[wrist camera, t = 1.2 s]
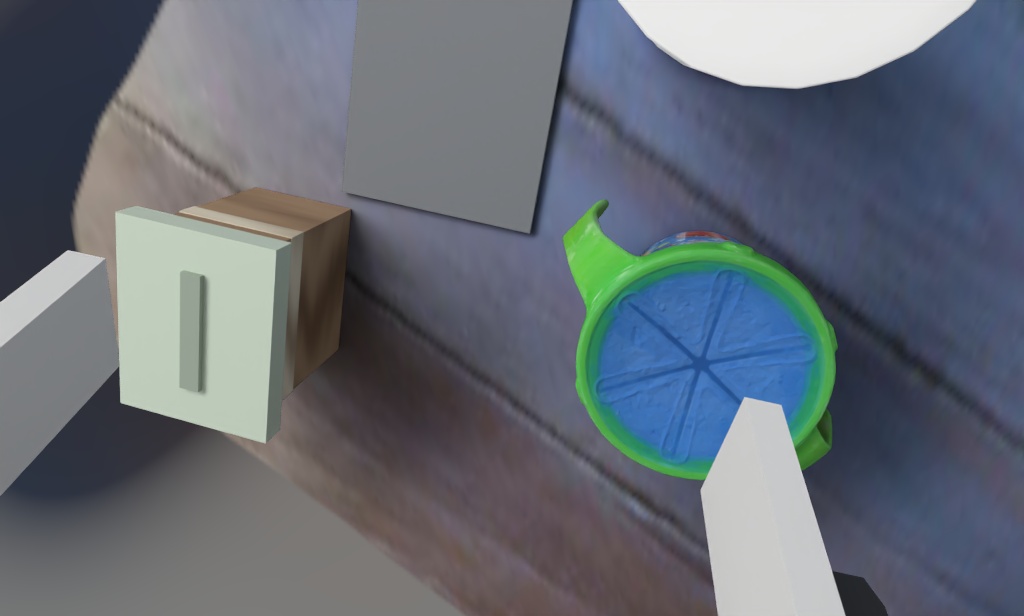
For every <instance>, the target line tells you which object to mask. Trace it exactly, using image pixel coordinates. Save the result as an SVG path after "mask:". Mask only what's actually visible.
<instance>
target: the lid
mask: <svg viewBox="0 0 1024 616" xmlns="http://www.w3.org/2000/svg"><path fill="white" fill-rule="evenodd" d="M115 216H116V253H117V290H118V327H119V363H120V398H121V400H120V401H121V403H123V404H126V405H130V406H134V407H137V408H141V409H144V410H148V411H152V412H155V413H159V414H162V415H166V416H170V417H173V418H177V419H180V420H184V421H187V422H191V423H194V424H198V425H202V426H205V427H209V428H212V429H216V430H219V431H223V432H227V433H230V434H234V435H237V436H241V437H244V438H248V439H252V440H255V441H259V442H262V443H267V442H268V441H269V440H270V439H271V438H272V437H273V436H274V435H275V434H276V433H277V432H278V431H279V430H280V422H281V406H282V390H283V374H284V358H285V342H286V326H287V311H288V295H289V279H290V263H291V247H292V243H291V242H287V241H282V240H278V239H274V238H270V237H265V236H261V235H257V234H253V233H249V232H244V231H240V230H236V229H232V228H227V227H223V226H219V225H215V224H211V223H206V222H202V221H198V220H194V219H189V218H185V217H181V216H177V215H173V214H168V213H164V212H160V211H156V210H151V209H147V208H143V207H139V206H134V207H131V208H127V209H124V210H120V211H117V212H115Z"/></svg>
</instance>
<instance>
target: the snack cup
mask: <svg viewBox="0 0 1024 616" xmlns="http://www.w3.org/2000/svg"><path fill="white" fill-rule="evenodd" d="M608 205H609V203H608V201H607V200H601V201H598V202H597V203H596V204H595V205H593V206H592V207H591V208H590V209H589V210H588V211H587V212H586V214H585V215H584V216H583V217H582V218H580V219H579V220H578V221H577V223H576V224H575V225H574V226H573V227H572V228H571V229H570V230H569V231H568V232H567V233H566V234H565V235H564V236H563V242H564V247H565V250H566V255H567V260H568V263H569V267H570V269H571V272H572V275H573V277H574V280H575V282H576V285H577V287H578V289H579V291H580V293H581V296H582V298H583V300H584V303H585V306H586V318H585V321H584V323H583V326H582V330H581V333H580V338H579V342H578V347H577V353H576V372H577V379H576V385H575V386H576V388H577V391H578V395H579V398H580V400H581V403H582V404H584V405H585V406H586V409H587V411H588V413H589V415H590V417H591V419H592V420H593V422H594V423H595V425H596V426H597V428H598V429H599V430H600V432H601V433H602V434H603V435H604V436H605V438H606V439H607V440H608V441H609V442H610V443H611V444H612V445H613V446H615V447H616V448H617V449H618V450H620V451H621V452H622V453H623V454H625V455H626V456H628V457H629V458H631V459H632V460H634V461H636V462H638V463H640V464H641V465H643V466H645V467H648V468H650V469H652V470H655V471H657V472H660V473H663V474H665V475H668V476H674V477H679V478H685V479H693V480H706V478H707V475H708V473H709V471H710V469H711V467H712V465H713V463H714V461H715V458H716V456H717V454H718V452H719V450H720V448H721V446H722V444H723V441H724V439H725V437H726V435H727V433H728V431H729V429H730V427H731V424H732V422H733V420H734V418H735V416H736V414H737V412H738V410H739V407H740V405H741V403H742V401H743V399H744V397H747V398H752V399H756V400H761V401H765V402H770V403H775V404H779V405H782V409H783V412H784V415H785V419H786V422H787V425H788V428H789V432H790V435H791V438H792V442H793V445H794V448H795V451H796V455H797V458H798V461H799V465H800V468H801V471H803V470H804V469H806V468H807V467H809V466H811V465H812V464H813V463H815V462H816V461H817V460H819V459H820V458H822V457H823V456H824V455H825V454H826V453H827V452H828V451H829V450H830V449H831V447H832V421H831V415H830V413H829V411H828V410H827V405H828V403H829V400H830V397H831V395H832V391H833V387H834V384H835V375H836V363H835V352H836V350H837V349H838V345H837V340H836V336H835V332H834V329H833V327H832V325H831V324H830V323H829V322H828V321H827V320H826V319H825V317H824V315H823V313H822V311H821V309H820V307H819V306H818V304H817V302H816V301H815V299H814V297H813V296H812V294H811V293H810V292H809V290H808V289H807V288H806V287H805V286H804V285H803V283H802V282H801V281H800V280H799V279H798V278H796V277H795V276H794V275H793V274H792V273H791V272H789V271H788V270H787V269H786V268H784V267H783V266H782V265H780V264H779V263H777V262H776V261H774V260H772V259H770V258H768V257H766V256H763V255H761V254H759V253H757V252H755V251H754V250H753V248H751V247H748V246H745V245H743V244H741V243H739V242H738V241H737V240H736V239H734V238H731V237H728V236H726V235H724V234H719V233H714V232H708V231H688V232H682V233H678V234H675V235H672V236H669V237H667V238H665V239H663V240H661V241H659V242H657V243H655V244H654V245H652V246H651V247H649V248H648V249H647V250H646V251H645V252H644V253H643V254H641V255H640V256H635V255H632V254H630V253H629V252H627V251H626V250H624V249H622V248H621V247H619V246H618V245H617V244H615V243H614V242H613V241H612V240H610V239H609V238H608V237H607V236H606V235H604V234H603V232H602V230H601V226H600V224H599V222H598V218H599V217H600V216H601V215H602V214H603V212H604V211H605V210H606V208H607V207H608Z"/></svg>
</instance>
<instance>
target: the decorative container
mask: <svg viewBox="0 0 1024 616" xmlns="http://www.w3.org/2000/svg"><path fill="white" fill-rule="evenodd" d="M618 1H619V2H620V4H621V5H622V6H623V7H624V9H625V10H626V11H627V12H628V14H629V15H630V16H631V17H632V19H633V20H634V21H635V22H636V24H637V25H638V26H639V27H640V29H641V30H642V31H643V33H644V34H645V35H646V36H647V37H648V38H649V39H651V40H652V41H653V42H654V43H655V44H656V46H657V47H658V48H660V49H661V50H663V51H664V52H665V53H667V54H668V55H670V56H671V57H672V58H674V59H675V60H677V61H678V62H680V63H681V64H682V65H684V66H687V67H690V68H693V69H695V70H698V71H701V72H704V73H707V74H710V75H713V76H716V77H718V78H721V79H724V80H727V81H730V82H733V83H736V84H738V85H741V86H756V87H772V88H789V89H801V88H806V87H811V86H816V85H822V84H827V83H832V82H837V81H842V80H848V79H853V78H857V77H859V76H861V75H864V74H866V73H868V72H870V71H872V70H874V69H877V68H879V67H881V66H883V65H885V64H888V63H890V62H892V61H894V60H896V59H898V58H901V57H903V56H905V55H907V54H909V53H912V52H914V51H915V50H917V49H918V48H919V47H921V46H922V45H923V44H924V43H926V42H927V41H928V40H930V39H931V38H932V37H934V36H935V35H936V34H938V33H939V32H940V31H942V30H943V29H944V28H946V27H947V26H948V25H950V24H951V23H952V22H953V21H955V20H956V19H957V18H959V17H960V16H961V15H963V14H964V13H965V12H967V11H968V10H969V9H970V8H971V7H972V5H973V4H974V3H975V2H976V1H977V0H618Z"/></svg>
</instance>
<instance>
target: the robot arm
mask: <svg viewBox="0 0 1024 616" xmlns="http://www.w3.org/2000/svg"><path fill="white" fill-rule="evenodd" d="M119 366H120V363H119V355H118V348H117V340H116V333H115V325H114V318H113V311H112V303H111V296H110V288H109V281H108V273H107V266H106V258H101V257H97V256H92V255H87V254H83V253H78V252H74V251H66V252H65V253H64V254H62V255H61V256H60V257H59V258H57V259H56V260H55V261H53V262H52V263H51V264H49V265H48V266H47V267H46V268H44V269H43V270H42V271H40V272H39V273H38V274H37V275H35V276H34V277H33V278H31V279H30V280H29V281H28V282H26V283H25V284H24V285H22V286H21V287H20V288H19V289H17V290H16V291H15V292H13V293H12V294H11V295H9V296H8V297H7V298H6V299H4V300H3V301H2V302H0V496H1V494H2V493H3V492H4V491H5V490H6V489H7V488H8V487H9V486H10V485H11V484H12V483H13V481H14V480H15V479H16V478H17V477H18V476H19V475H20V474H21V473H22V472H23V470H24V469H25V468H26V467H27V466H28V465H29V464H30V463H31V462H32V461H33V460H34V459H35V457H36V456H37V455H38V454H39V453H40V452H41V451H42V450H43V449H44V448H45V446H46V445H47V444H48V443H49V442H50V441H51V440H52V439H53V438H54V437H55V435H57V433H58V432H59V431H60V430H61V429H62V428H63V427H64V426H65V425H66V423H67V422H68V421H69V420H70V419H71V418H72V417H73V416H74V415H75V413H76V412H78V410H79V409H80V408H81V407H82V406H83V405H84V404H85V403H86V402H87V401H88V400H89V398H90V397H91V396H92V395H93V394H94V393H95V392H96V391H97V390H98V389H99V388H100V386H101V385H102V384H103V383H104V382H105V381H106V380H107V379H108V378H109V377H110V376H111V374H112V373H113V372H114V371H115V370H116V369H117V368H118V367H119ZM701 498H702V505H703V512H704V519H705V526H706V533H707V540H708V547H709V554H710V561H711V568H712V575H713V582H714V589H715V596H716V603H717V610H718V616H888V614H887V612H886V609H885V606H884V605H883V604H882V602H881V601H880V600H879V598H878V597H877V596H876V594H875V593H874V591H873V590H872V589H871V587H870V586H869V585H868V583H867V582H866V581H865V579H864V578H862V577H857V576H852V575H848V574H843V573H838V572H834V571H832V570H831V567H830V563H829V560H828V557H827V553H826V550H825V547H824V544H823V540H822V537H821V534H820V530H819V527H818V524H817V520H816V517H815V514H814V511H813V507H812V504H811V501H810V497H809V494H808V491H807V488H806V484H805V481H804V478H803V474H802V471H801V468H800V465H799V461H798V458H797V455H796V451H795V448H794V445H793V442H792V438H791V435H790V432H789V428H788V425H787V422H786V419H785V415H784V412H783V409H782V405H779V404H775V403H770V402H765V401H761V400H756V399H752V398H747V397H744V399H743V401H742V403H741V405H740V407H739V410H738V412H737V414H736V416H735V418H734V420H733V422H732V424H731V427H730V429H729V431H728V433H727V435H726V437H725V439H724V441H723V444H722V446H721V448H720V450H719V452H718V454H717V456H716V458H715V461H714V463H713V465H712V467H711V469H710V471H709V473H708V475H707V478H706V480H705V482H704V484H703V486H702V488H701Z"/></svg>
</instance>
